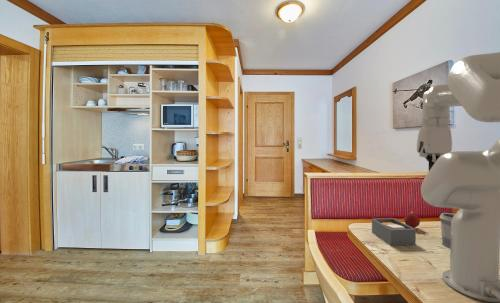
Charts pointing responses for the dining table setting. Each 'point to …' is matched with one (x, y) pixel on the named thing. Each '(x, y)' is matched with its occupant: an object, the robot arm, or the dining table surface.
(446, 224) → the cup
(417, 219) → the onion
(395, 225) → the rocker
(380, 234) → the switch box
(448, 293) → the dining table surface
